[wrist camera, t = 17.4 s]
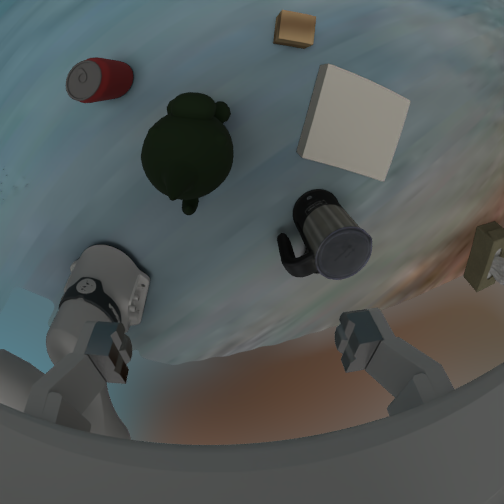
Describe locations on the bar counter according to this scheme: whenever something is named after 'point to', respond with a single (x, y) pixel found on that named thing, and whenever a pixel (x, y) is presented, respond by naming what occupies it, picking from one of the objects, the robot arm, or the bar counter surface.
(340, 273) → the milk frother
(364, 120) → the cream base
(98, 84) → the beer can
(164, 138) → the toy figurine
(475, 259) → the tissue box
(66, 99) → the bar counter surface
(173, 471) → the robot arm
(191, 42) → the bar counter surface
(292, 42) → the block
